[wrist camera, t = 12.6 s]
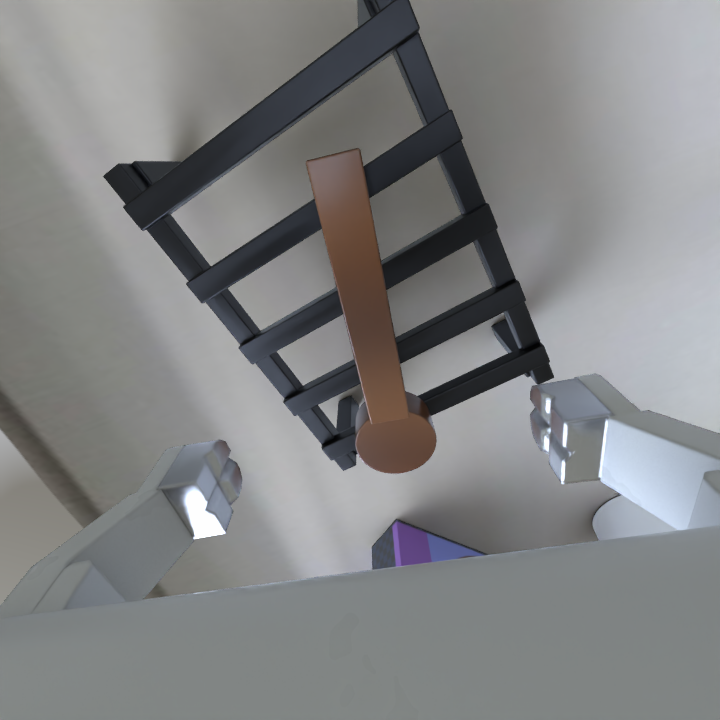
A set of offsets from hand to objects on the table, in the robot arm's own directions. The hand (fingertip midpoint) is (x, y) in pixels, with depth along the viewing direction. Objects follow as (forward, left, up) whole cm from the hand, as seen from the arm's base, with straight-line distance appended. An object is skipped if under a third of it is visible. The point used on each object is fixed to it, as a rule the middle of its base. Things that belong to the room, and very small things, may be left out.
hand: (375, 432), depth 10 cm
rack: (-1, 0, -17) cm, 17 cm away
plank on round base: (+1, 0, -10) cm, 10 cm away
